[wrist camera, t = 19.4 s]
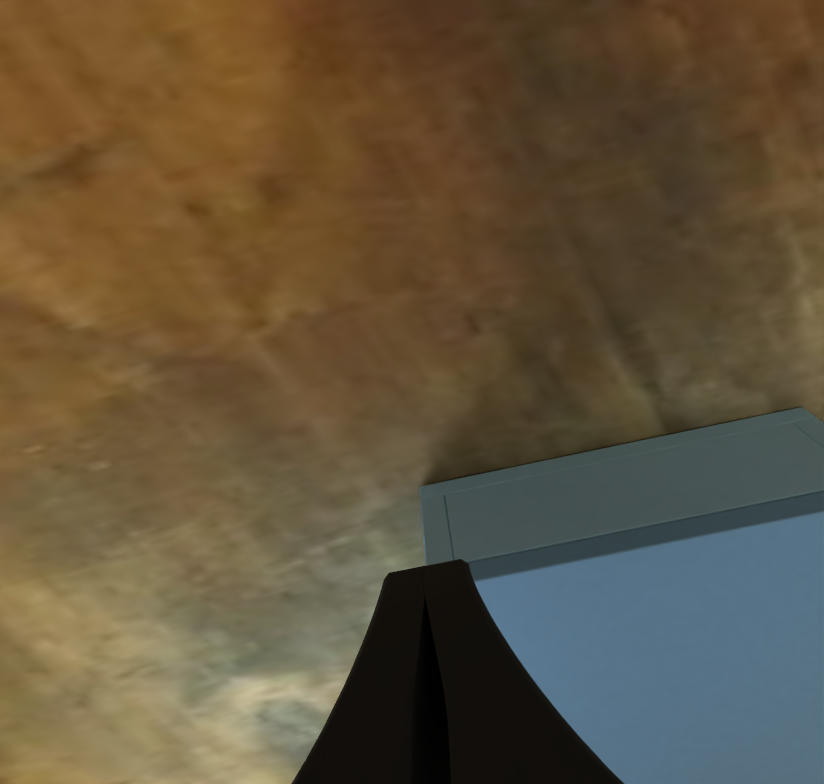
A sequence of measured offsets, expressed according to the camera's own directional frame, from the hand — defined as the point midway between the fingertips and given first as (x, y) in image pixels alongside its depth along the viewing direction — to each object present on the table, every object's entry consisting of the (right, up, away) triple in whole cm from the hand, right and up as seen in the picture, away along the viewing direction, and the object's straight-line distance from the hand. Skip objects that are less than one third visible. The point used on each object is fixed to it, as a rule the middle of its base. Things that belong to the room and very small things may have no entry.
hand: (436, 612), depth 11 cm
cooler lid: (+7, -5, +9) cm, 12 cm away
